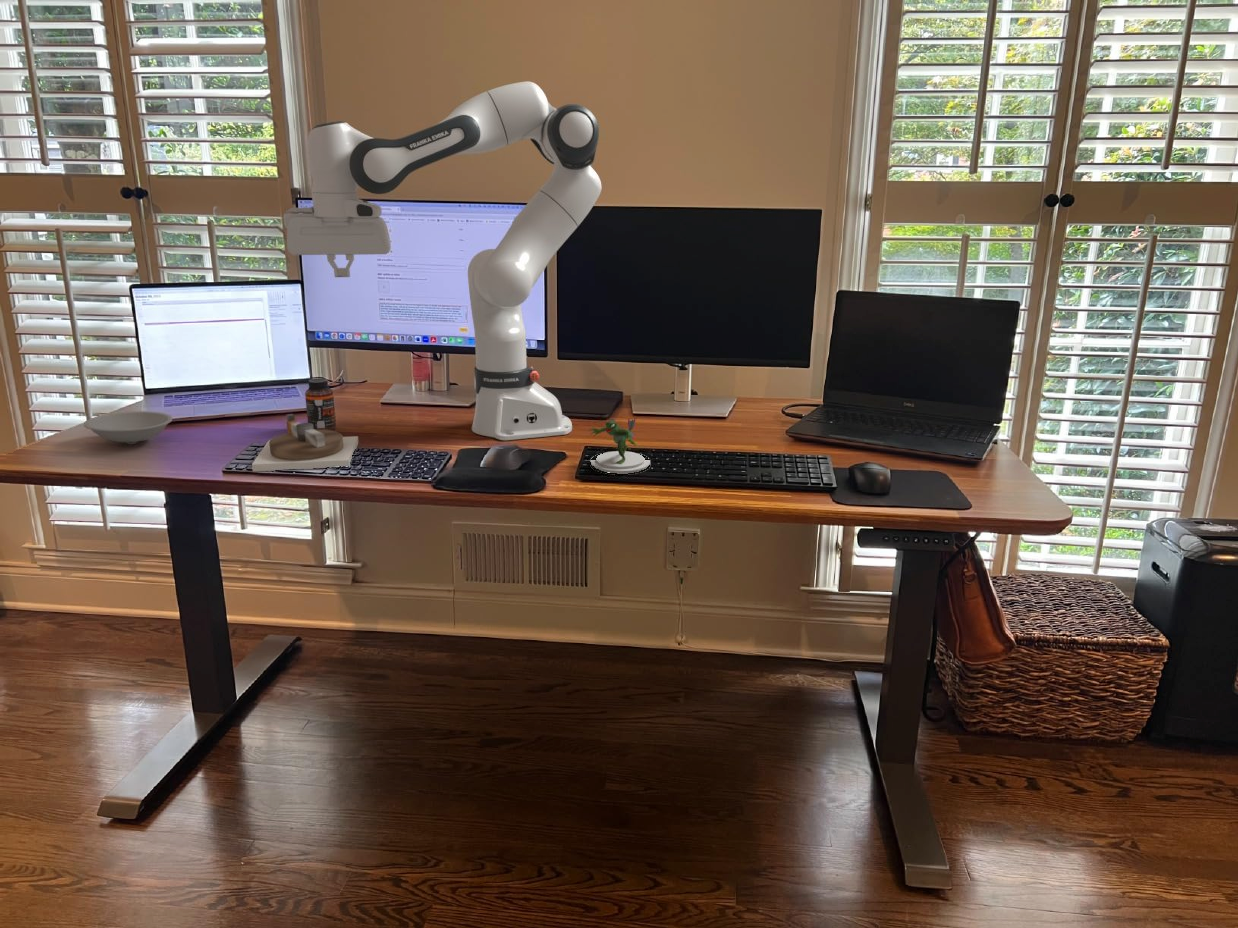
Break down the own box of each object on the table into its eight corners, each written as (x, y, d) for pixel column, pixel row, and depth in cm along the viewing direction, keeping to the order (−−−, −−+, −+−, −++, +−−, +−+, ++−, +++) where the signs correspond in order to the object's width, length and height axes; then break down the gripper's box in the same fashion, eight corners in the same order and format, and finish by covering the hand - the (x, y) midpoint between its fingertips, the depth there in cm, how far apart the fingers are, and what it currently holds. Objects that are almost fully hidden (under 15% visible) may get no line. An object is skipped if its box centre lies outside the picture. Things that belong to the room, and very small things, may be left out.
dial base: (358, 443, 188) (355, 411, 185) (349, 467, 173) (346, 433, 171) (269, 446, 185) (265, 414, 183) (252, 471, 170) (248, 437, 168)
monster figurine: (577, 465, 175) (577, 415, 172) (617, 451, 184) (617, 404, 181) (623, 479, 168) (624, 427, 165) (662, 464, 177) (663, 414, 173)
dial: (356, 449, 178) (353, 425, 177) (289, 464, 169) (286, 439, 167) (323, 434, 188) (321, 411, 186) (258, 448, 178) (255, 424, 177)
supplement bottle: (328, 434, 194) (323, 383, 190) (303, 432, 195) (297, 382, 191) (341, 426, 199) (336, 377, 196) (317, 424, 200) (312, 376, 197)
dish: (191, 436, 192) (188, 414, 190) (145, 456, 178) (141, 432, 177) (120, 430, 195) (116, 409, 193) (70, 450, 181) (65, 427, 180)
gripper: (279, 208, 173) (287, 279, 178) (386, 208, 177) (391, 278, 181) (285, 206, 179) (292, 275, 184) (388, 207, 183) (393, 274, 187)
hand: (342, 277), depth 183 cm, fingers closed
